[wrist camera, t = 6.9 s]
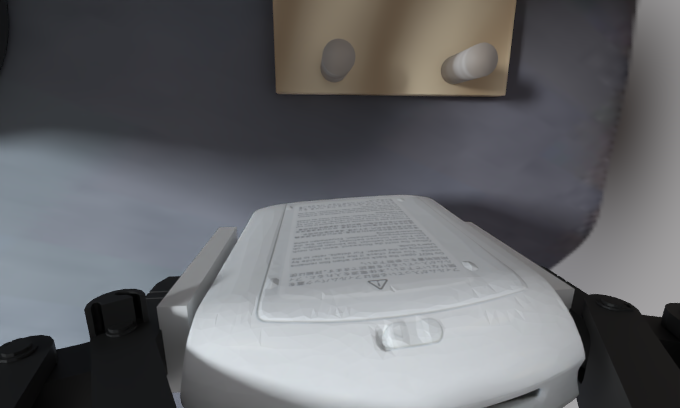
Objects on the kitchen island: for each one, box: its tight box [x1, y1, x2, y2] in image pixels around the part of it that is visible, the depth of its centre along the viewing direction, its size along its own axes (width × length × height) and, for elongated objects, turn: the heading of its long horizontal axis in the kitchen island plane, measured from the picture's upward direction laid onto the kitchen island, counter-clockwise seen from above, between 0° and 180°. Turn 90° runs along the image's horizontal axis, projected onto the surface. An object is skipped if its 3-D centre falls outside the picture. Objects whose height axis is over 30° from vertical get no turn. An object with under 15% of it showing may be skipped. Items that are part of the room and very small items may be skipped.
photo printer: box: [180, 195, 585, 408], centre depth 13 cm, size 10×4×12 cm, turn 94°
